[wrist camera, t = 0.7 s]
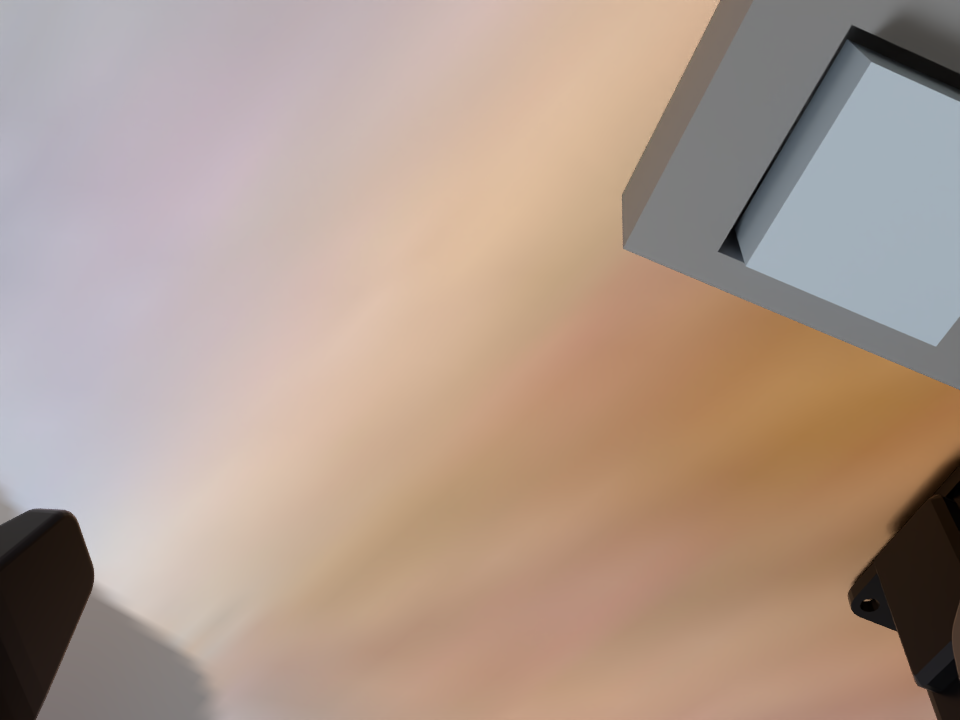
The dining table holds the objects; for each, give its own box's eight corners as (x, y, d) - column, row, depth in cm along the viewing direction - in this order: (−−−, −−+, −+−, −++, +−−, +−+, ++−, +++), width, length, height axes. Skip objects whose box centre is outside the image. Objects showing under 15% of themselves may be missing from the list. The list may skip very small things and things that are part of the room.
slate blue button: (1040, 126, 17) (1085, 158, 15) (909, 303, 19) (935, 346, 17) (847, 39, 16) (871, 61, 15) (734, 228, 18) (745, 266, 17)
